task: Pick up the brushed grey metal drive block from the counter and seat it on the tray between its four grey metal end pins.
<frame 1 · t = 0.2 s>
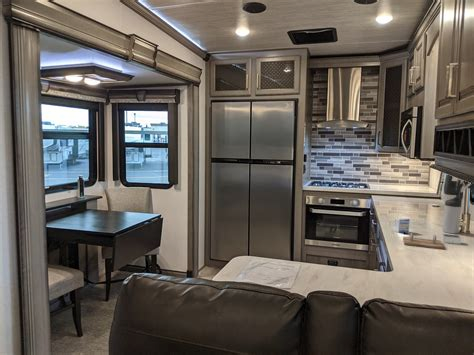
hand: (470, 199, 198), 28 cm above the worktop, tool pointing down, fingers open, 8 cm apart
pin tray: (422, 243, 214), on the worktop
drive block: (450, 242, 219), on the worktop
medicine box: (401, 232, 240), on the worktop
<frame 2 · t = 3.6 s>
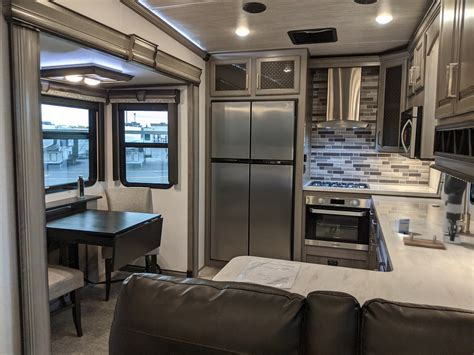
hand: (451, 239, 219), 2 cm above the worktop, tool pointing down, fingers closed on drive block, 5 cm apart
drive block: (451, 242, 219), on the worktop, touching gripper
everything else where it was.
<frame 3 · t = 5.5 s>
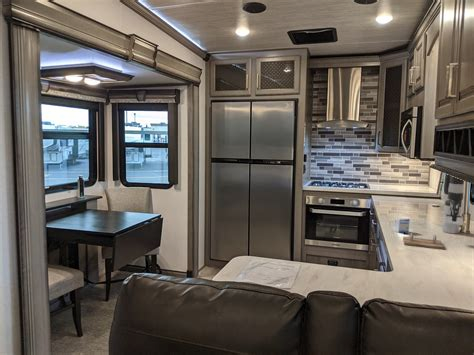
hand: (453, 220, 218), 13 cm above the worktop, tool pointing down, fingers closed on drive block, 5 cm apart
drive block: (452, 222, 218), point 12 cm above the worktop, touching gripper
everything else where it was.
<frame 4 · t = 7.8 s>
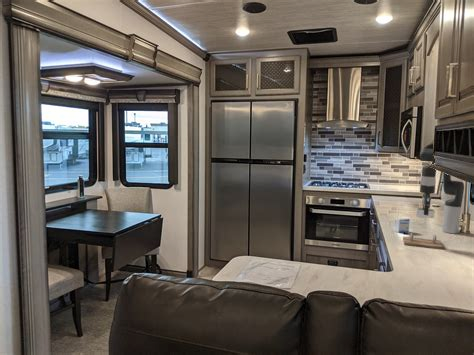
hand: (425, 213, 212), 17 cm above the worktop, tool pointing down, fingers closed on drive block, 5 cm apart
drive block: (425, 216, 212), point 16 cm above the worktop, touching gripper
everything else where it was.
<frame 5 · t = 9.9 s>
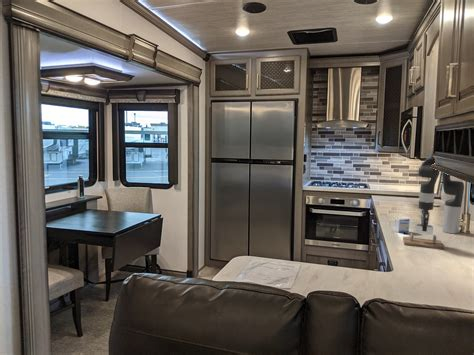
hand: (423, 229, 213), 8 cm above the worktop, tool pointing down, fingers closed on drive block, 5 cm apart
drive block: (423, 232, 214), point 7 cm above the worktop, touching gripper
everything else where it was.
when the fingers open (4 cm above the worktop, at t = 11.9 s): drive block drops 1 cm, resting on pin tray.
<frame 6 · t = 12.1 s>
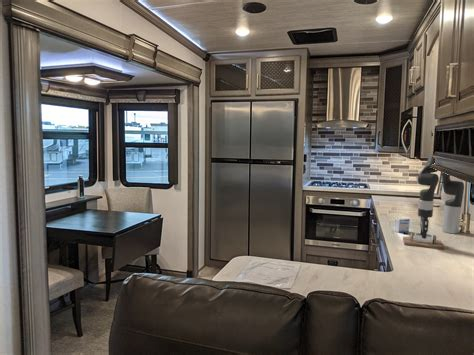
hand: (423, 236, 214), 4 cm above the worktop, tool pointing down, fingers open, 6 cm apart
drive block: (422, 241, 214), point 1 cm above the worktop, touching pin tray
everything else where it was.
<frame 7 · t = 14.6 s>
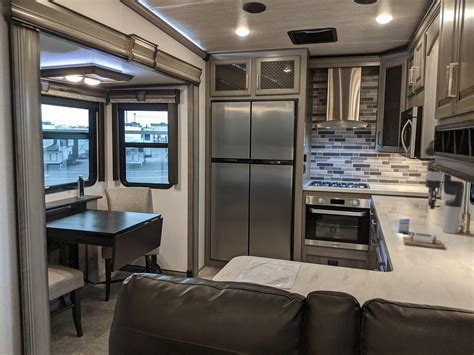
hand: (431, 207, 213), 21 cm above the worktop, tool pointing down, fingers open, 8 cm apart
nothing on the worktop moved.
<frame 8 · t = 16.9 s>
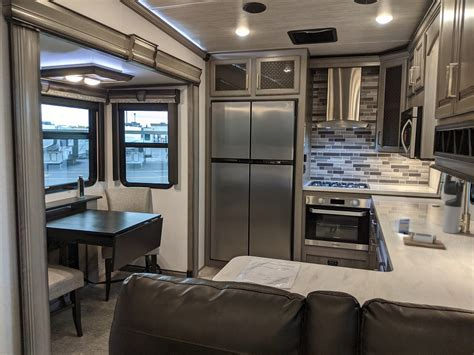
hand: (459, 191, 217), 30 cm above the worktop, tool pointing down, fingers open, 8 cm apart
nothing on the worktop moved.
at the end: drive block 0.1 cm off-centre on the pin tray, point 1.2 cm above the pin tray's base; drive block tilted 0°; the gripper is holding nothing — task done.
